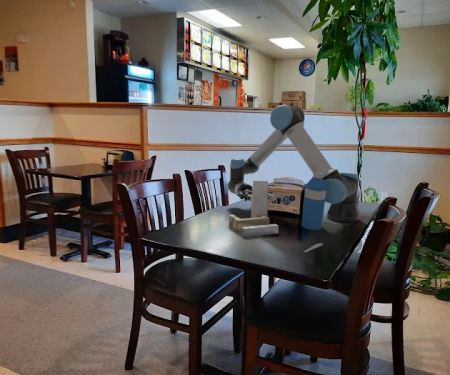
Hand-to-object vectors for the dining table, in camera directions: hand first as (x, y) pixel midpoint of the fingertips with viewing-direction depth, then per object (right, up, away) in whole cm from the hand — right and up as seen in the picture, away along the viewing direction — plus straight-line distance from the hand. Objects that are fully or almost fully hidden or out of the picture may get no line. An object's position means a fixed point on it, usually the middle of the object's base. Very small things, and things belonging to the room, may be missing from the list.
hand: (264, 199), depth 175 cm
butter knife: (+11, -19, -38) cm, 43 cm away
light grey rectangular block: (-2, -10, +6) cm, 12 cm away
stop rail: (-4, -14, -18) cm, 23 cm away
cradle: (-8, -12, -7) cm, 16 cm away
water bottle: (+21, -12, -5) cm, 25 cm away
